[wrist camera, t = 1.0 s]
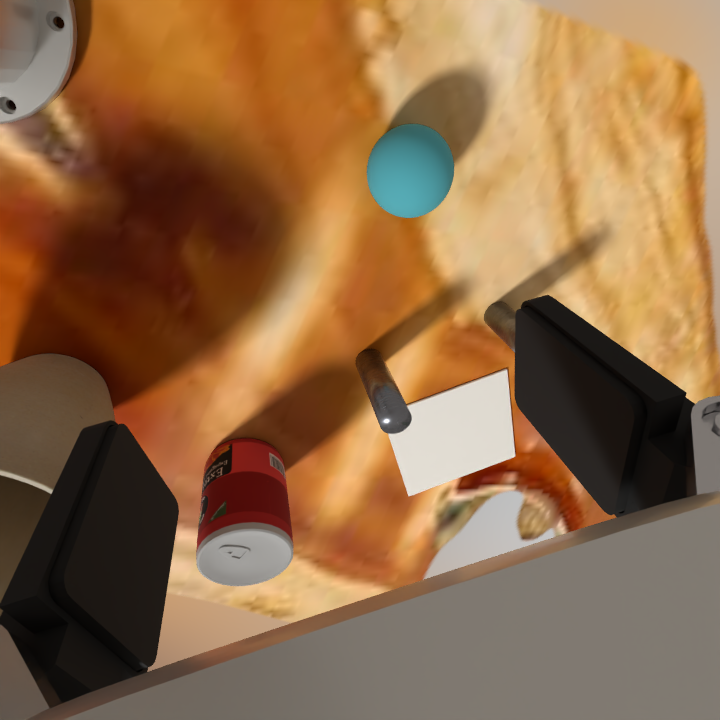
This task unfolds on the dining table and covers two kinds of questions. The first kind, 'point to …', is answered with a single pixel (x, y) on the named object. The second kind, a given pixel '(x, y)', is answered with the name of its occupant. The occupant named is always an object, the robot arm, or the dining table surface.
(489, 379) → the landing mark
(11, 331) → the dining table surface
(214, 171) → the dining table surface
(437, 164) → the teal sphere
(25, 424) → the plant pot
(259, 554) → the canned food
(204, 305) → the dining table surface
